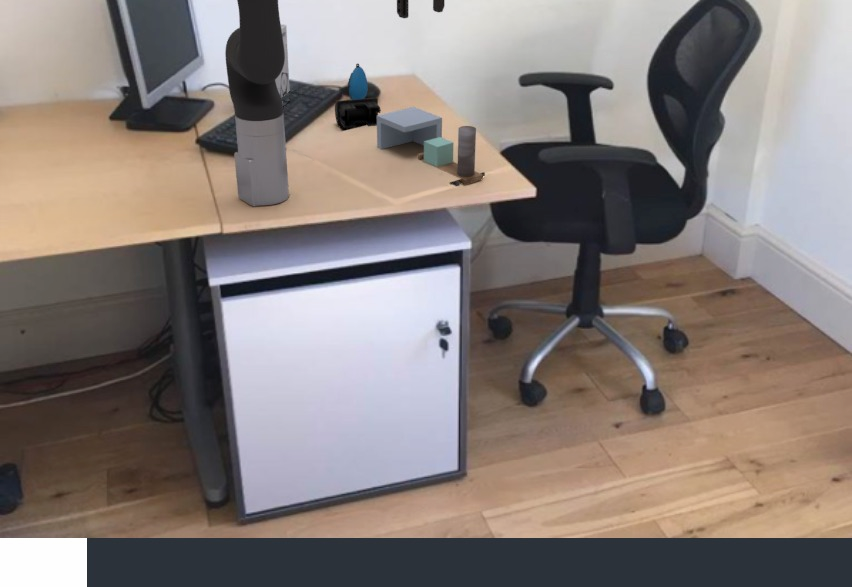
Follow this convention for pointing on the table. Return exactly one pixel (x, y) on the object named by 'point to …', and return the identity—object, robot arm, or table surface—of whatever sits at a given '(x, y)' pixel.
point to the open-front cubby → (407, 127)
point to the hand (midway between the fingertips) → (420, 14)
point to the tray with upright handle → (462, 157)
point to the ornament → (357, 84)
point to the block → (438, 151)
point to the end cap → (356, 113)
